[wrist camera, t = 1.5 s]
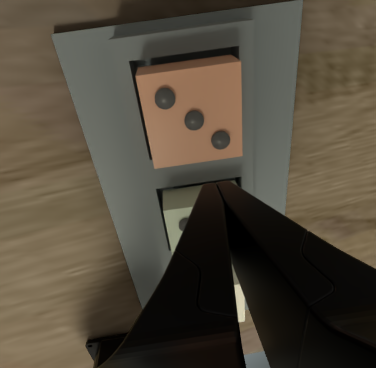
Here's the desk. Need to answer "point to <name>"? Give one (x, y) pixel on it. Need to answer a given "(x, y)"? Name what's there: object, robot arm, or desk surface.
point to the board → (135, 124)
